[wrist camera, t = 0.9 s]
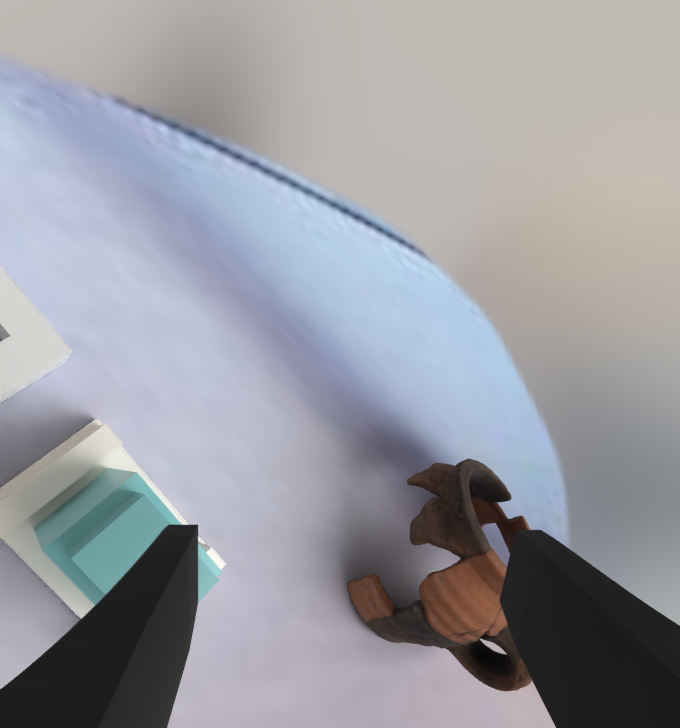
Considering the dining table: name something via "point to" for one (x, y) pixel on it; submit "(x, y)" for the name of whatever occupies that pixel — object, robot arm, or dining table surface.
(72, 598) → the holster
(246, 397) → the dining table surface
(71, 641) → the robot arm
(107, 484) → the plug
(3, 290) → the panel
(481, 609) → the brown jagged curved sculpture
